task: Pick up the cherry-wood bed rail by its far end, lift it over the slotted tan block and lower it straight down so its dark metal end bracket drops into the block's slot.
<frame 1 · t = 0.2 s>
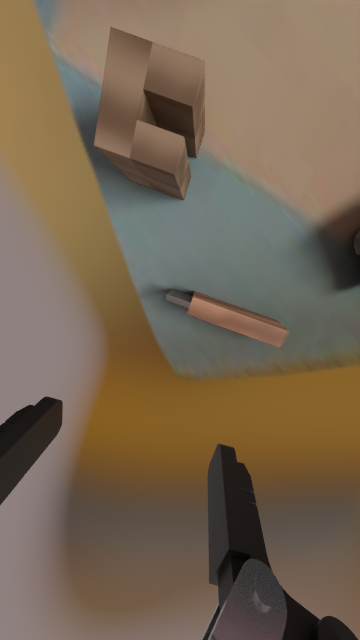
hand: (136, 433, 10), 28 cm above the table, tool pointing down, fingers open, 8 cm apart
slotted tan block: (165, 157, 30), on the table
bed rail: (232, 313, 36), on the table
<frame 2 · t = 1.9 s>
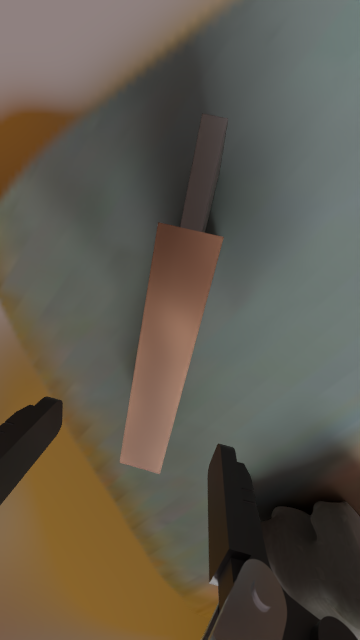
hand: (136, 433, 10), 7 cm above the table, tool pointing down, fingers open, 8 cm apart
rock: (315, 538, 22), on the table
bed rail: (172, 341, 16), on the table
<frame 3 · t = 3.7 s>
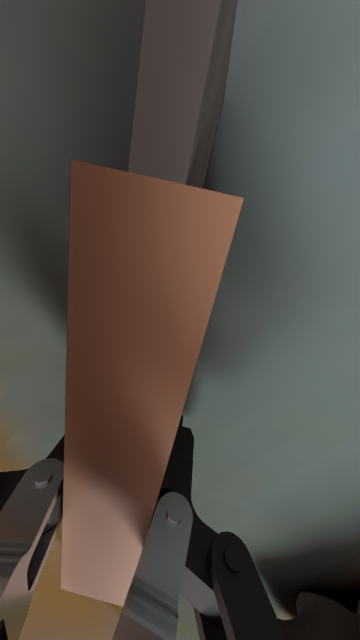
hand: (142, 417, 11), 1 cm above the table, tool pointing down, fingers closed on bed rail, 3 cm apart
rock: (351, 623, 17), on the table
bed rail: (151, 381, 11), on the table, touching gripper
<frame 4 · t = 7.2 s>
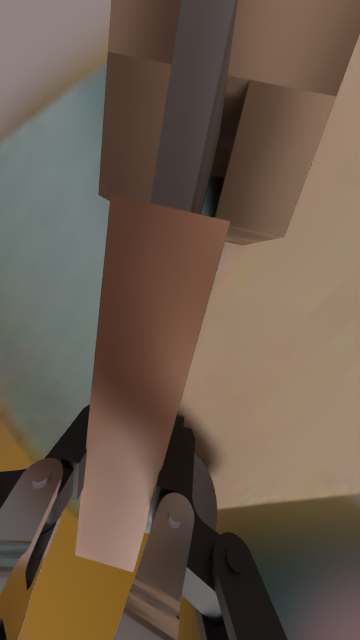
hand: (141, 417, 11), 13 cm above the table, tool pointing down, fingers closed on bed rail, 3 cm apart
slotted tan block: (209, 182, 18), on the table
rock: (161, 460, 31), on the table
bed rail: (155, 372, 12), point 11 cm above the table, touching gripper
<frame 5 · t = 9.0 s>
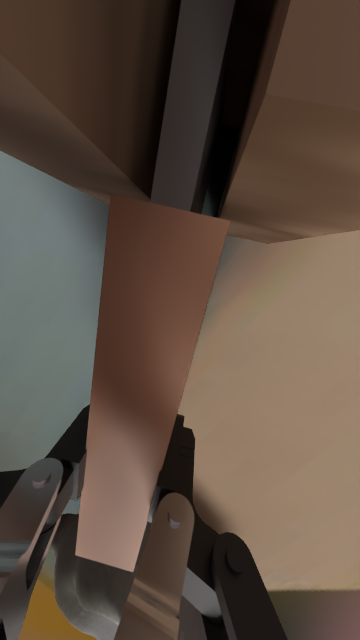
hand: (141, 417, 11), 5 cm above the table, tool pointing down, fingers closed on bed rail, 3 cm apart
slotted tan block: (214, 135, 10), on the table
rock: (153, 529, 23), on the table
bed rail: (155, 372, 12), point 3 cm above the table, touching gripper
when the fingers open (2 cm above the table, at t = 10.7 s): bed rail stays where it is, on the table.
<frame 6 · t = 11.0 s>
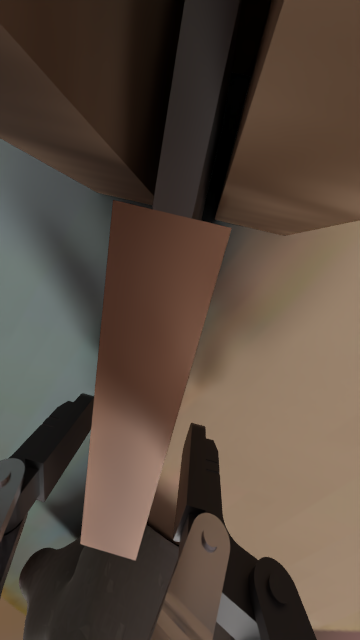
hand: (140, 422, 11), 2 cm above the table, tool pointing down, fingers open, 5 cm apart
slotted tan block: (216, 87, 8), on the table
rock: (146, 561, 20), on the table
bed rail: (157, 370, 12), on the table
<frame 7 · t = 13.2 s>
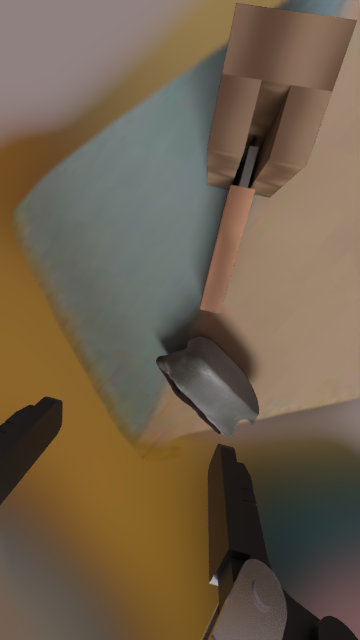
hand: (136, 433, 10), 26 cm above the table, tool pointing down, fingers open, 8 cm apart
slotted tan block: (248, 153, 27), on the table
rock: (208, 375, 39), on the table
bed rail: (222, 255, 31), on the table
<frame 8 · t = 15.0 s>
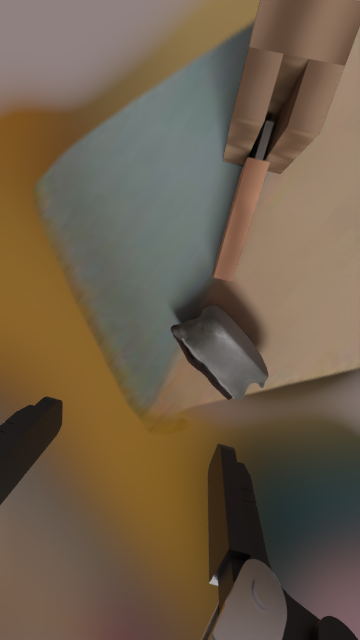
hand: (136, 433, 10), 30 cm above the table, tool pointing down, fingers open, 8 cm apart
slotted tan block: (261, 131, 29), on the table
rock: (218, 345, 41), on the table
bed rail: (234, 229, 33), on the table
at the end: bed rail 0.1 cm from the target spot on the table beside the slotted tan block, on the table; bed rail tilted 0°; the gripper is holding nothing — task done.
